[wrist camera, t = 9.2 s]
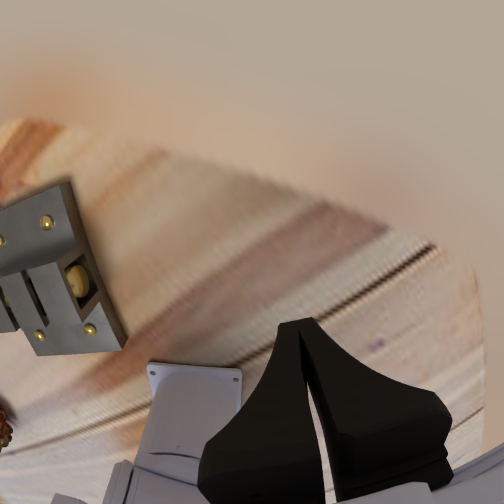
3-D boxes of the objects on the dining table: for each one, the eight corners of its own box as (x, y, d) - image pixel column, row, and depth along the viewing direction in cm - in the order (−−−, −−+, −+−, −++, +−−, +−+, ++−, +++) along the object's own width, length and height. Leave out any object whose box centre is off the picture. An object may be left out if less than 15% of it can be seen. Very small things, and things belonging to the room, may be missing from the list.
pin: (98, 291, 21) (79, 315, 18) (7, 308, 22) (-13, 327, 19) (82, 249, 20) (59, 267, 17) (-7, 275, 21) (-30, 291, 18)
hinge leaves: (127, 339, 24) (109, 374, 19) (44, 347, 24) (22, 375, 20) (69, 181, 19) (33, 193, 15) (-11, 217, 20) (-44, 233, 16)
